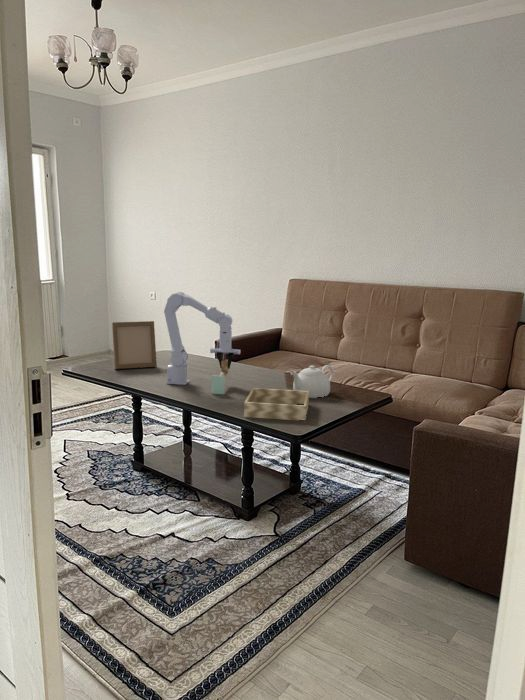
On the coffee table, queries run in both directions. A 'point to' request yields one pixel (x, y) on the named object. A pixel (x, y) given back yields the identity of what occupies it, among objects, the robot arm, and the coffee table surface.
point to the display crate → (276, 410)
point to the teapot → (313, 381)
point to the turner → (224, 367)
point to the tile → (218, 384)
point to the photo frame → (134, 344)
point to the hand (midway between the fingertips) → (225, 368)
